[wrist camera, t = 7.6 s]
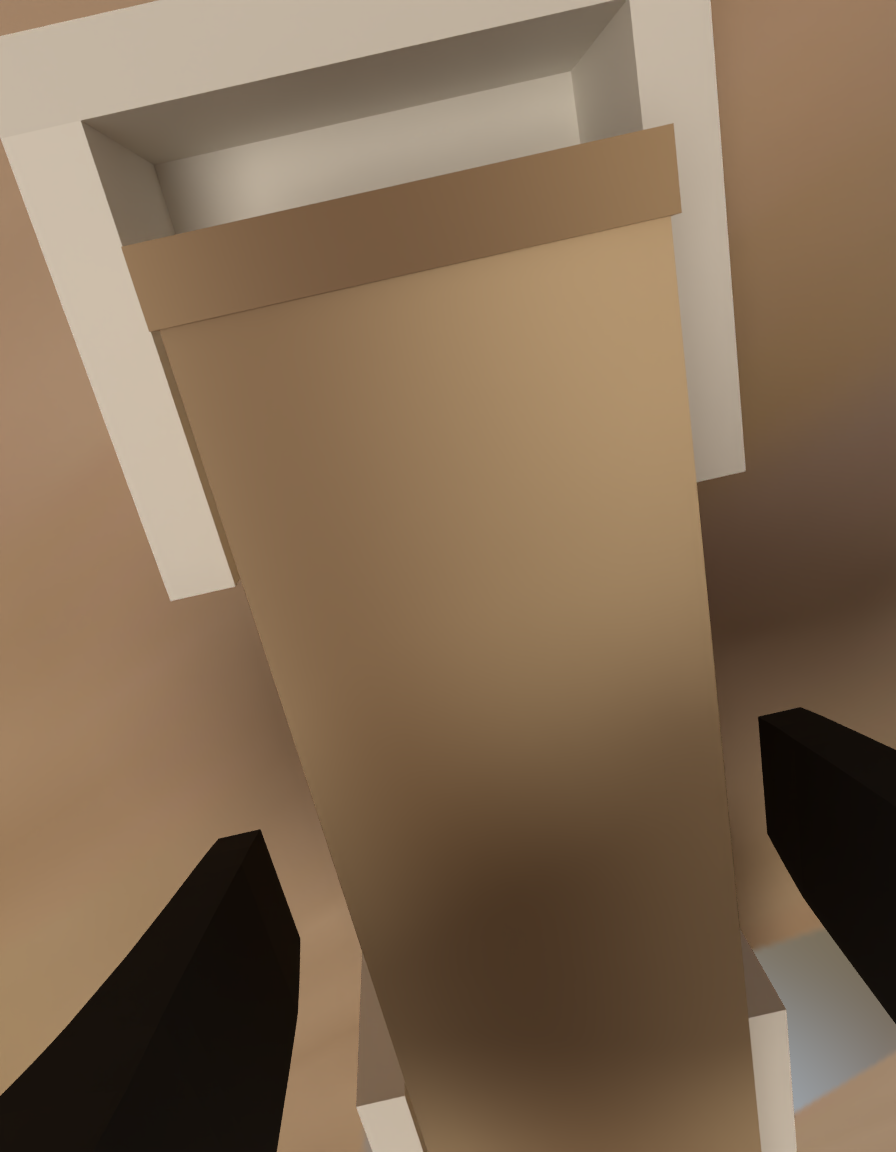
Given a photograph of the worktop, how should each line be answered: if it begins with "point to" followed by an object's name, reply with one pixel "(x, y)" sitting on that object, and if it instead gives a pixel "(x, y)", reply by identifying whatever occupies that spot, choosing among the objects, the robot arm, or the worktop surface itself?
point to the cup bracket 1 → (333, 171)
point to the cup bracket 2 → (398, 1126)
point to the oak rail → (490, 626)
